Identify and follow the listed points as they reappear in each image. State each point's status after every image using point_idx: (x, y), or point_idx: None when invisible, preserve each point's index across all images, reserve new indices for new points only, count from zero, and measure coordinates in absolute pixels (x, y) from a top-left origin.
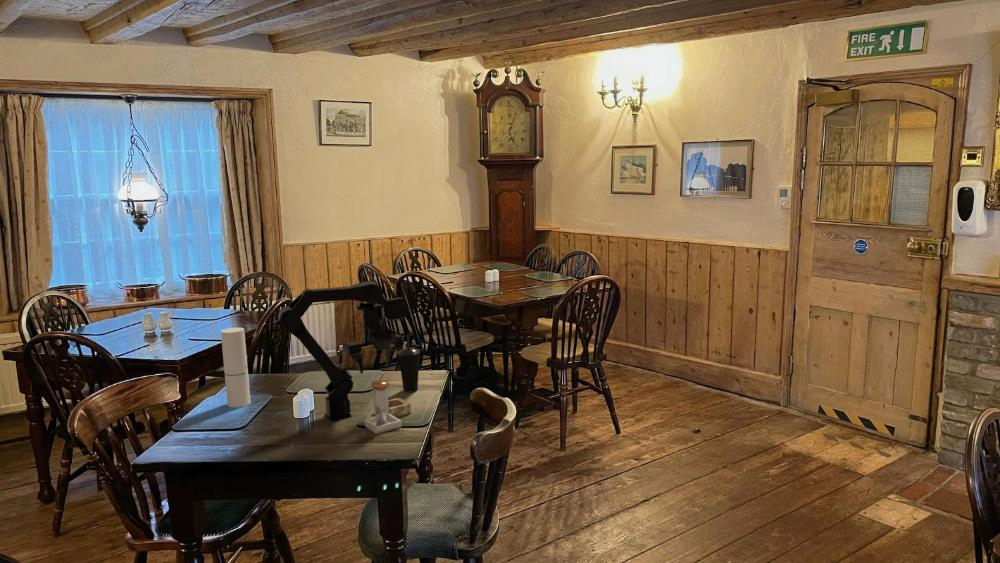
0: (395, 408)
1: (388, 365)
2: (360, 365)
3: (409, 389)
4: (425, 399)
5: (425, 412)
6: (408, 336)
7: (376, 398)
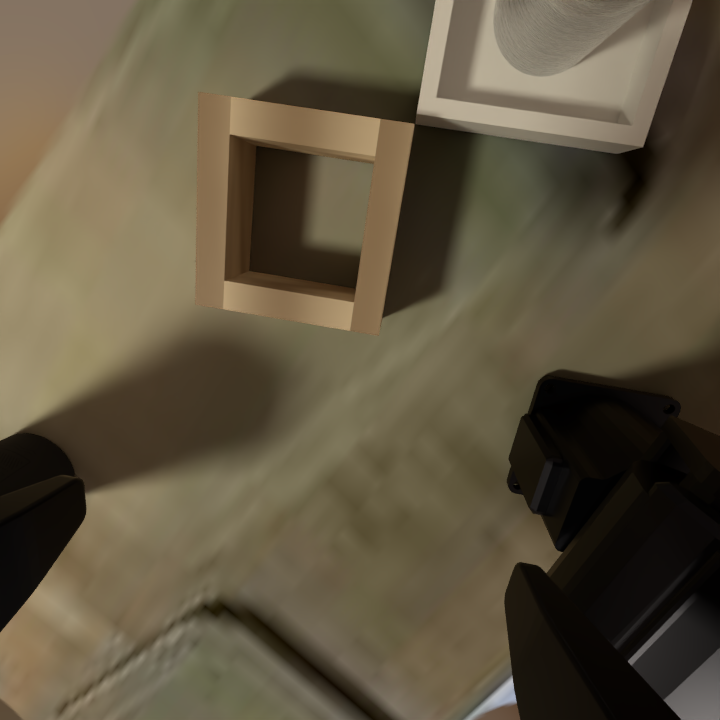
0: (341, 114)
1: (48, 503)
2: (657, 717)
3: (43, 452)
4: (28, 273)
5: (138, 37)
6: None
7: None
